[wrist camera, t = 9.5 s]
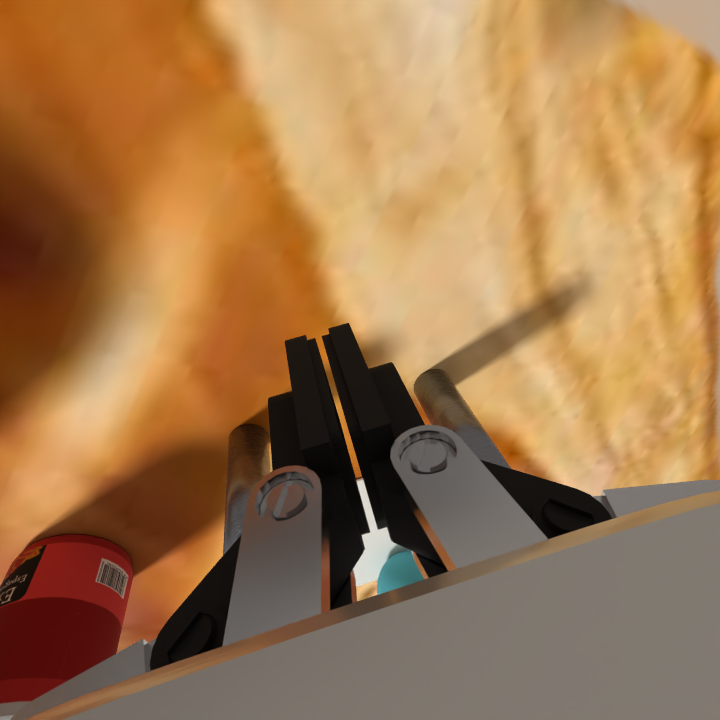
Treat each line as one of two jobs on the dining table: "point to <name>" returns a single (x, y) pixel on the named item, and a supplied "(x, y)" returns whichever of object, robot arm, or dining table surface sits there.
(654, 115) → the dining table surface
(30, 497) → the dining table surface
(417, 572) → the teal sphere
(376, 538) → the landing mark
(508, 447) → the dining table surface
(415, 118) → the dining table surface
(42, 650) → the canned food
